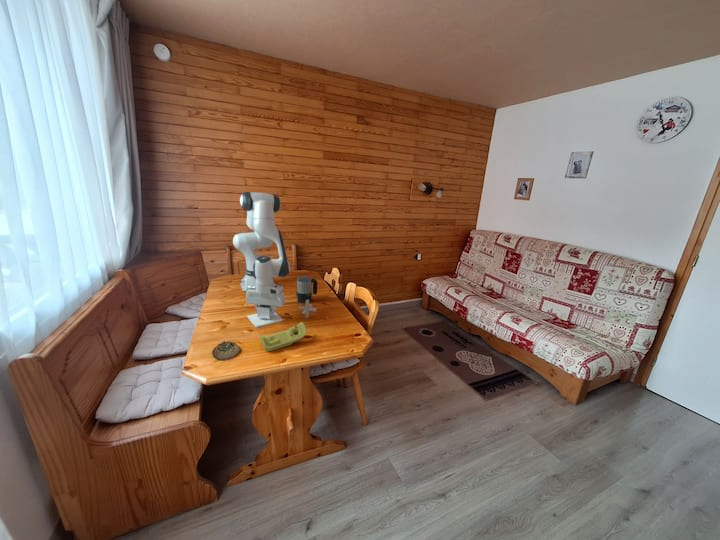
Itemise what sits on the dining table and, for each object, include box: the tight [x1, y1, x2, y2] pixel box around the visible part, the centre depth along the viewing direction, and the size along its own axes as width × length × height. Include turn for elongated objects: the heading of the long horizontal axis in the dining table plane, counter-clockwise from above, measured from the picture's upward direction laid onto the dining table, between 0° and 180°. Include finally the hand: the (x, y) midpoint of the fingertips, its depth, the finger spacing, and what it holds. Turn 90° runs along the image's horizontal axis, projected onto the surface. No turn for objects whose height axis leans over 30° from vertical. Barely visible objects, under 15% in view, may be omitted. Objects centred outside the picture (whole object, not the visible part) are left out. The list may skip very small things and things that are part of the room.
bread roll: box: [211, 340, 242, 361], centre depth 117 cm, size 11×11×5 cm
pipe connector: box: [297, 300, 317, 319], centre depth 151 cm, size 10×10×10 cm
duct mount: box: [247, 312, 284, 329], centre depth 147 cm, size 14×14×6 cm
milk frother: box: [295, 275, 319, 304], centre depth 176 cm, size 14×16×15 cm
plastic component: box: [259, 321, 307, 352], centre depth 127 cm, size 20×7×10 cm
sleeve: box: [256, 304, 276, 319], centre depth 147 cm, size 7×7×6 cm
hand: (266, 311), depth 147 cm, fingers closed on sleeve, 7 cm apart
